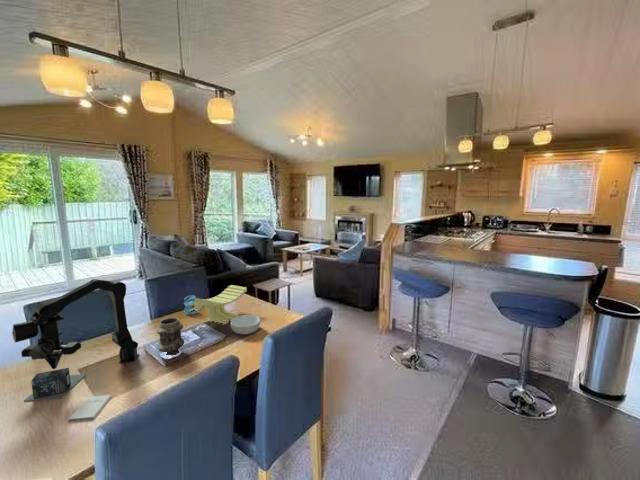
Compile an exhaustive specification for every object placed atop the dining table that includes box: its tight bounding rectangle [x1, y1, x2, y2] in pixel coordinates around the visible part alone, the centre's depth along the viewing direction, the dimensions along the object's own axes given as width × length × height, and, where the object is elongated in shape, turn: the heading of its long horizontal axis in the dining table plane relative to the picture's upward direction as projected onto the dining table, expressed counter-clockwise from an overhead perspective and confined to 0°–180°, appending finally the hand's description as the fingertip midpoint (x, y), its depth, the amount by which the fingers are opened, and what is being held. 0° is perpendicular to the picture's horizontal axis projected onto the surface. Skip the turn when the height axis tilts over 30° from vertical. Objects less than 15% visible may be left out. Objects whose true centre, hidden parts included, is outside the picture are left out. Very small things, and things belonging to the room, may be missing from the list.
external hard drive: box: [67, 394, 112, 423], centre depth 114 cm, size 2×8×12 cm
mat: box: [23, 373, 87, 402], centre depth 127 cm, size 13×16×1 cm
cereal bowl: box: [230, 314, 261, 336], centre depth 178 cm, size 17×17×7 cm
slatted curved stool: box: [193, 284, 248, 325], centre depth 196 cm, size 30×16×18 cm, turn 154°
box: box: [30, 367, 71, 399], centre depth 123 cm, size 8×6×11 cm
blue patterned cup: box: [183, 294, 200, 316], centre depth 205 cm, size 8×8×12 cm
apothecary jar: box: [155, 317, 185, 355], centre depth 152 cm, size 12×12×18 cm
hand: (54, 368), depth 125 cm, fingers closed
